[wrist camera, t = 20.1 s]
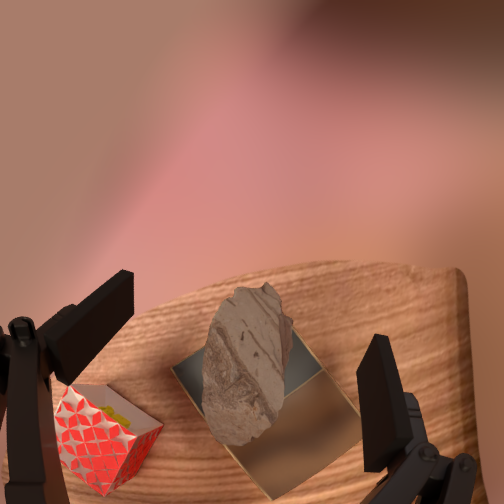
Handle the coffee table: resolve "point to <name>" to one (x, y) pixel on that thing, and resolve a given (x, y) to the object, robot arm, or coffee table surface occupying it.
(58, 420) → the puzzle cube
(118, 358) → the coffee table surface
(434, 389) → the coffee table surface
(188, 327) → the coffee table surface
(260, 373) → the stone
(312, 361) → the board
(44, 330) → the robot arm
